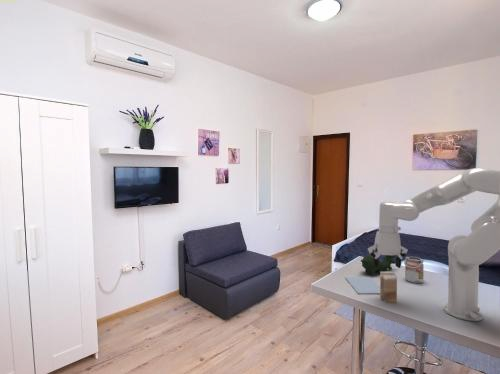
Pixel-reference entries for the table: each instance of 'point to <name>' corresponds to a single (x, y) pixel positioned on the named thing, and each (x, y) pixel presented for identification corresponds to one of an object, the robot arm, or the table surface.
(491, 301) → the table surface
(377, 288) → the rubber mat
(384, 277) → the brown tall block
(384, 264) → the toy figurine
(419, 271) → the beverage can
